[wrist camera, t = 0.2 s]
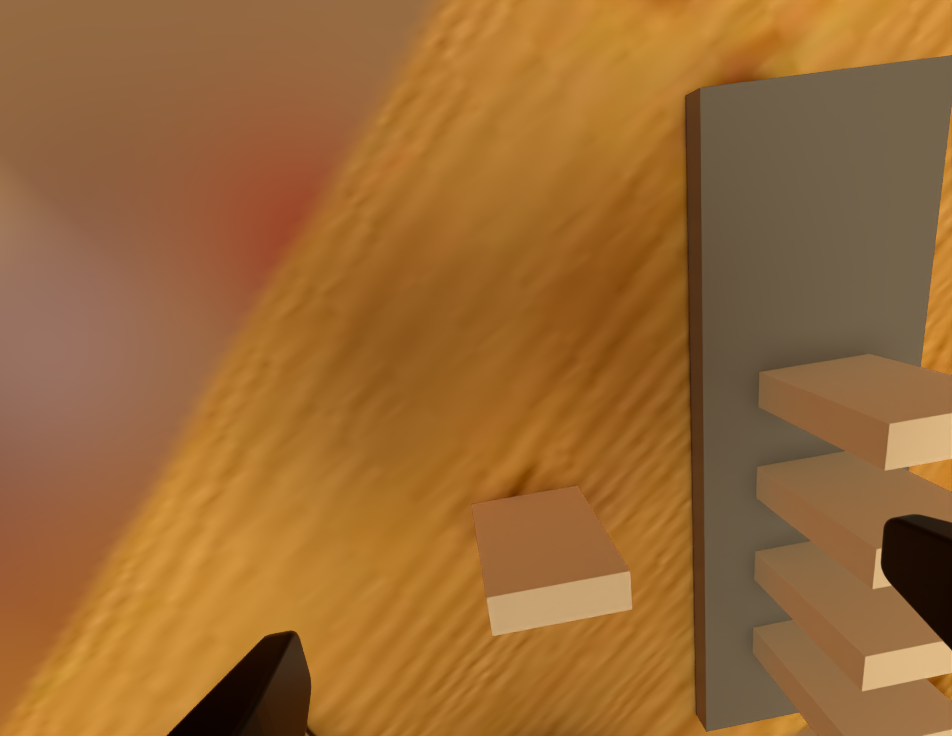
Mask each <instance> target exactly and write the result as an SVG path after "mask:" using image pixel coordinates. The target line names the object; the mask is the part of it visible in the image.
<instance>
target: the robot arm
mask: <svg viewBox="0 0 952 736" xmlns="http://www.w3.org/2000/svg"><path fill="white" fill-rule="evenodd" d="M881 569H882V571H883V574H884V576H885V577H886V579H887V580H888V582H889V583H890V584H891V585H892V586H893V587H894V588H895V589H896V591H897V592H898V593H899V594H900V595H901V596H902V597H903V598H904V599H905V600H906V601H907V602H908V604H909V605H910V606H911V607H912V608H913V609H914V610H915V611H916V612H917V613H918V614H919V616H920V617H921V618H922V619H923V620H924V621H925V622H926V623H927V624H928V625H929V626H930V628H931V629H932V630H933V631H934V632H935V633H936V634H937V635H938V636H939V637H940V638H941V639H942V641H943V642H944V643H945V644H946V645H947V646H948V647H949V648H950V649H951V650H952V522H948V521H944V520H940V519H936V518H932V517H928V516H924V515H920V514H909V515H904V516H899V517H893V518H890V519H889V520H887V521H886V523H885V524H884V528H883V539H882V550H881ZM310 696H311V678H310V673H309V669H308V666H307V662H306V659H305V655H304V652H303V648H302V645H301V641H300V638H299V636H298V634H297V633H296V632H295V631H285V632H280V633H274V634H270V635H267V636H265V637H264V638H263V639H262V640H260V642H259V643H258V644H257V645H256V646H255V647H254V648H253V649H252V650H251V651H250V652H249V653H248V654H247V655H246V656H245V657H244V658H243V659H242V660H241V661H240V662H239V663H238V664H237V665H236V666H235V667H234V668H233V669H232V670H231V671H230V672H229V673H228V674H227V675H226V676H225V677H224V678H223V679H222V680H221V681H220V682H219V683H218V684H217V685H216V686H215V687H214V688H213V689H212V690H211V691H210V692H209V693H208V694H207V695H206V696H205V697H204V698H203V699H202V700H201V701H200V702H199V703H198V704H197V705H196V706H195V707H194V708H193V709H192V710H191V711H190V712H189V713H188V714H187V715H186V716H185V717H184V718H183V719H182V720H181V721H180V722H179V723H178V724H177V725H176V726H175V727H174V728H173V730H172V731H171V732H170V733H169V734H168V735H167V736H305V733H306V726H307V719H308V711H309V704H310Z"/></svg>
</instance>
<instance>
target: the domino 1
mask: <svg viewBox="0 0 952 736" xmlns="http://www.w3.org/2000/svg"><path fill="white" fill-rule="evenodd" d="M471 506H472V513H473V519H474V525H475V532H476V538H477V544H478V550H479V556H480V562H481V568H482V575H483V581H484V587H485V593H486V599H487V605H488V611H489V618H490V624H491V630H492V636H496V635H501V634H507V633H512V632H517V631H522V630H527V629H533V628H538V627H543V626H548V625H554V624H559V623H564V622H569V621H574V620H580V619H585V618H590V617H595V616H600V615H606V614H611V613H616V612H621V611H627V610H632V596H631V579H630V570H629V569H628V567H627V565H626V564H625V562H624V560H623V559H622V557H621V556H620V554H619V552H618V551H617V549H616V547H615V546H614V544H613V543H612V541H611V539H610V538H609V536H608V534H607V533H606V531H605V529H604V528H603V526H602V525H601V523H600V521H599V520H598V518H597V516H596V515H595V513H594V512H593V510H592V508H591V507H590V505H589V503H588V502H587V500H586V498H585V497H584V495H583V494H582V492H581V490H580V489H579V487H578V486H572V487H567V488H561V489H555V490H549V491H544V492H538V493H532V494H527V495H521V496H515V497H510V498H504V499H498V500H492V501H487V502H481V503H475V504H471Z"/></svg>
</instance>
